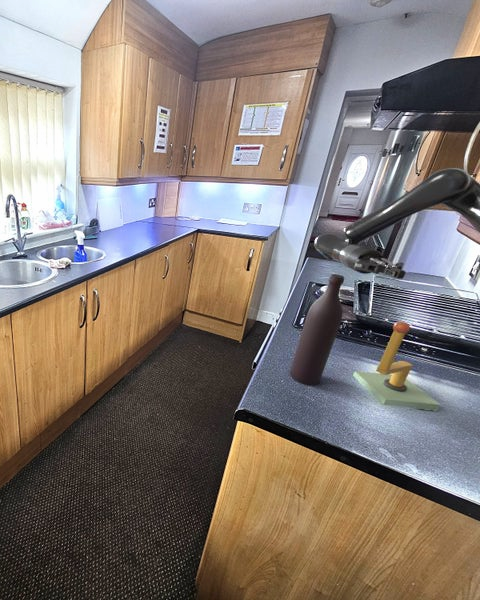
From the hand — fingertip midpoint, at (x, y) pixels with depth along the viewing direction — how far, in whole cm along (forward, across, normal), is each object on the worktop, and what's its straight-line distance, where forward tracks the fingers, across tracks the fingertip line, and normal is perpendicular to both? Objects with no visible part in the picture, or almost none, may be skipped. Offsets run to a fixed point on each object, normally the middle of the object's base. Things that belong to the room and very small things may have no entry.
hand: (401, 275), depth 87 cm
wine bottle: (+11, -22, +28) cm, 37 cm away
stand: (+14, -2, +28) cm, 31 cm away
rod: (+16, -6, +25) cm, 30 cm away
